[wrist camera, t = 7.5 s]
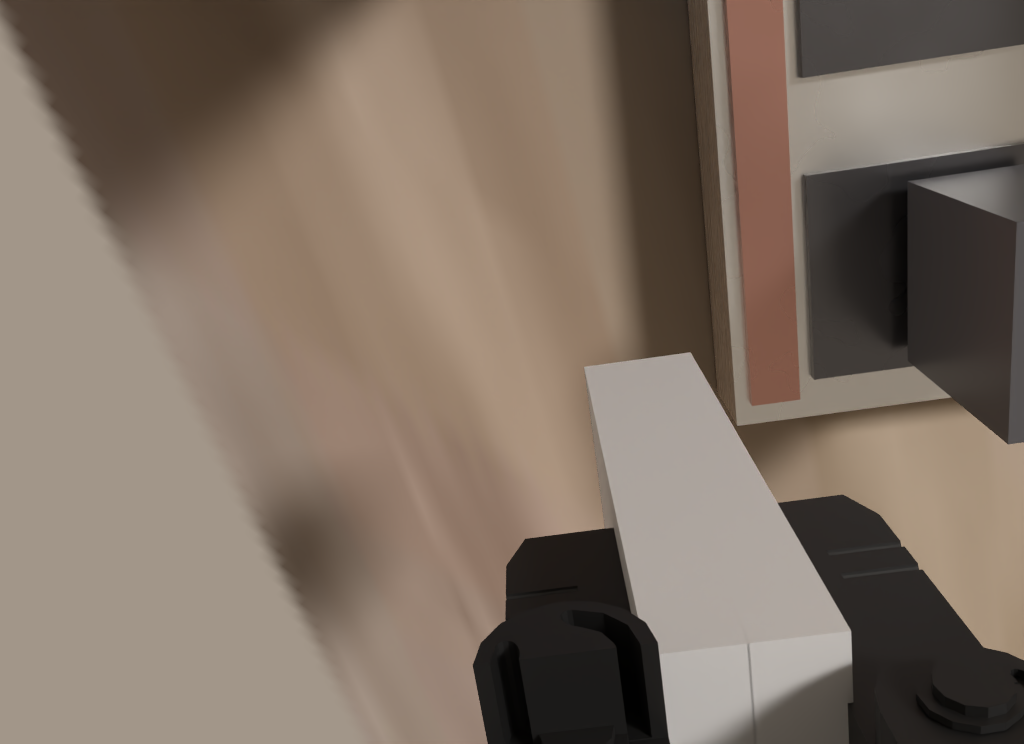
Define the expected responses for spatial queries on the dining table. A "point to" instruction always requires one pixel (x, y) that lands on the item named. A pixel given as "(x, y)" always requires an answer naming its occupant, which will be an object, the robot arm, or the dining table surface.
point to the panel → (836, 181)
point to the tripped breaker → (970, 291)
